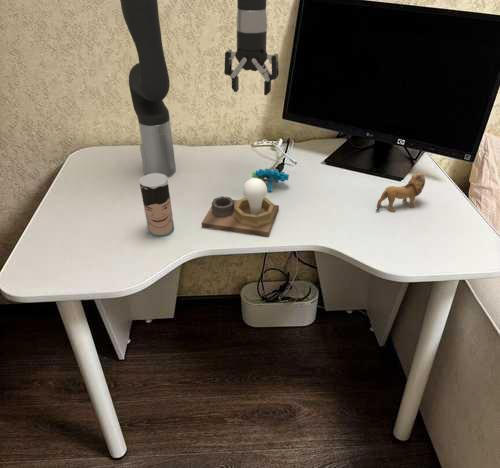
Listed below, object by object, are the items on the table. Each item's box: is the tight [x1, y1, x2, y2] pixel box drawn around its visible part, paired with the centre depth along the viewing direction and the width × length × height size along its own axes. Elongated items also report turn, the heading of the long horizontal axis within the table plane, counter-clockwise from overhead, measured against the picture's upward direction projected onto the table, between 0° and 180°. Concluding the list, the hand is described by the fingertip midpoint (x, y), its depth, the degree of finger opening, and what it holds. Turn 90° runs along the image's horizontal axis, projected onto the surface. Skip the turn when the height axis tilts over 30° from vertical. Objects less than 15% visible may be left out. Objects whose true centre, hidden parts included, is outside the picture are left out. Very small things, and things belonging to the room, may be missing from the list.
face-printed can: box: [139, 173, 175, 239], centre depth 116 cm, size 7×7×15 cm
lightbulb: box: [243, 177, 268, 215], centre depth 120 cm, size 6×6×11 cm
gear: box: [251, 168, 290, 193], centre depth 136 cm, size 11×6×10 cm
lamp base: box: [201, 196, 280, 238], centre depth 123 cm, size 18×13×4 cm
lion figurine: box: [375, 172, 426, 213], centre depth 126 cm, size 15×5×9 cm, turn 114°
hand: (251, 92), depth 124 cm, fingers open, 8 cm apart
